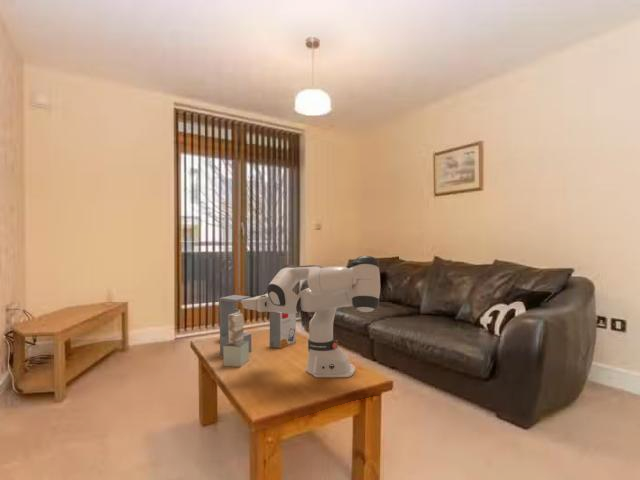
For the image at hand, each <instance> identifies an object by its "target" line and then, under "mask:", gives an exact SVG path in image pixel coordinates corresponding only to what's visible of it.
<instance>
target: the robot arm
mask: <svg viewBox="0 0 640 480" xmlns="http://www.w3.org/2000/svg"><path fill="white" fill-rule="evenodd" d="M347 266H348V267H346V266H338V265H337V266H326V267H325V266H324V267H322V266H321V265H313V264H312V265H311V264H310V265H293V264H284V265H282V266H281V268H280V269H279V271H278V272H277V273H276V275H275V276H274V277H273V279H272V280H270V283H268V285H267V287H266V293H265V294H262V295H256V296H253V297H251V298H249V299H241V301H240V304H242V308H243V309H246V310H252V311H257V312H258V313H264V312H269V313H270V312H282V313H287V314H296V315H297V314H299V313H300V312H301V311H302V312H306V313H314V314H313V315H312V316H313V317H311V319H310V320H309V322H308V338H309V339H308V340H307V349H308V350H307V351H308V358H307V365H306V368H305V371H306V372H307V373H308V374H310V375H312V376H313V377H315V378H350V377H351V376H353V375H354V374H355V372H356V366H355V365H354V364H351V361H350V358H349V356H348V354H347V353H345V352H344V351H343V350H341V349H340V347H338V340H337V339H335V338H334V322H335V321H334V320H335V316H336V313H337V309H339V308H340V309H341V308H348V307H353V308H354V309H355V310H357V311H359V312H362V313H370V312H374V311H376V310H378V308H379V305H380V295H381V275H380V274H381V273H380V269H381V268H380V267H381V266H380V262H379V260H378V259H377V258H376V257H374V256H371V255H360V256H359V257H358V256H357V258H355V259H353V260H352V262H349V263H348V265H347ZM302 280H306V283H307V287H306V288H305V289H303V290H300V291H299V292H298V294H296V292H294V291H293V290H294V287H295V286H297V284H298V283H299V282H300V281H302Z"/></svg>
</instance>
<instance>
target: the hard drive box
mask: <svg viewBox="0 0 640 480" xmlns="http://www.w3.org/2000/svg"><path fill="white" fill-rule="evenodd" d="M296 315H297V313H296V314H287V313H282V312H269V347H271V348H275V349H282V348H285V347H287V346H289V345H291V344H292V345H293V344H294V343H295V342H296V341H297V339H296V338H297V337H296V336H297V333H296V331H297V320H296V319H297V318H296V317H297V316H296Z"/></svg>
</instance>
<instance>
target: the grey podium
mask: <svg viewBox="0 0 640 480" xmlns="http://www.w3.org/2000/svg"><path fill="white" fill-rule="evenodd" d="M249 298H252V296H247V295H238V294H232V295H228V296H221V297H219V299H218V302H219V303H218V304H219V306H218V309H219V355H223V356H224V353H223V346H224V345H225V344H226V343H228V342H229V323H228V315H230V314H234V313H236V309H237V307H236V306H237V305H236V304H237V303H239V302H241V299H249ZM243 335H244V341H249V353H251V352H252V333H247V332H243Z"/></svg>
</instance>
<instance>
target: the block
mask: <svg viewBox="0 0 640 480" xmlns="http://www.w3.org/2000/svg"><path fill="white" fill-rule="evenodd" d="M228 323H229V344H234V345H238V344H240V343H243V342H244V335H243V333H244V313H241V314H240V313H234V314H230V315H228Z"/></svg>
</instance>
